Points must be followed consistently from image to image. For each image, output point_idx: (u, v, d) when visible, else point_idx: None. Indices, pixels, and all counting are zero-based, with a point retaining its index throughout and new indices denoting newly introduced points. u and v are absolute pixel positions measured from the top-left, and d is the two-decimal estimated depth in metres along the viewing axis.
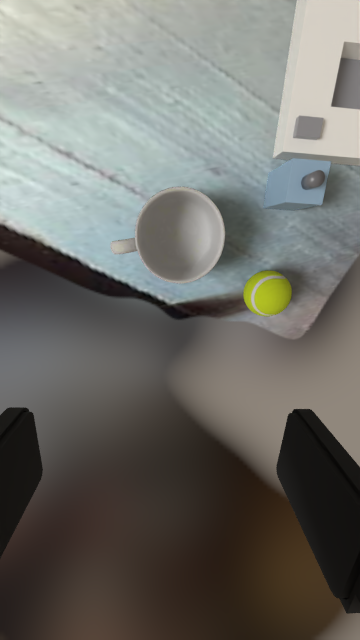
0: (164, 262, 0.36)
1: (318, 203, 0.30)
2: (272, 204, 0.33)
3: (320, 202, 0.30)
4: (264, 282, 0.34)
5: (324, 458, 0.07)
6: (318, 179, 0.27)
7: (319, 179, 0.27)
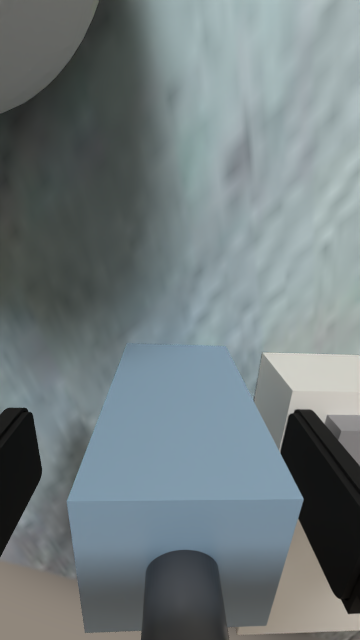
0: None
1: (88, 622, 0.06)
2: (116, 384, 0.08)
3: (94, 627, 0.06)
4: None
5: (325, 458, 0.07)
6: None
7: None
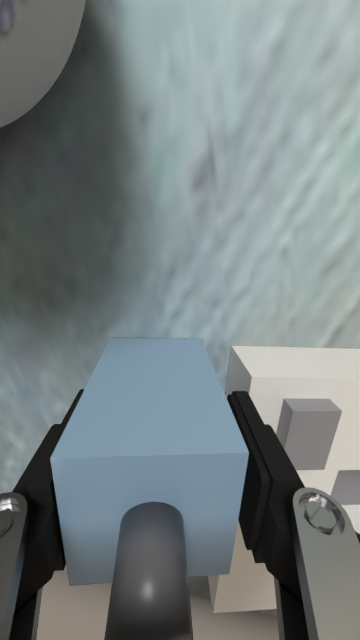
0: None
1: (72, 575, 0.07)
2: (98, 371, 0.09)
3: (77, 580, 0.07)
4: None
5: (243, 430, 0.08)
6: None
7: None
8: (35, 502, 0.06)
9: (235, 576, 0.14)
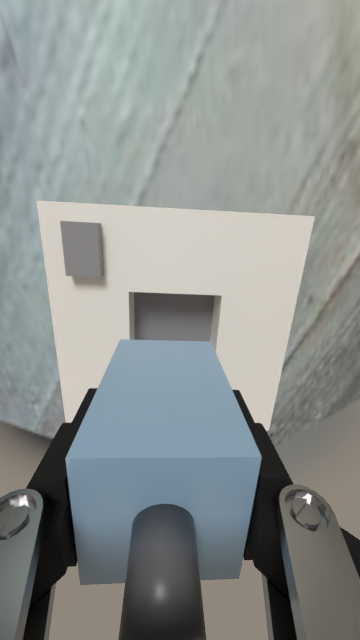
0: None
1: (83, 574, 0.07)
2: (109, 372, 0.09)
3: (88, 579, 0.07)
4: None
5: None
6: None
7: None
8: (49, 498, 0.06)
9: (74, 391, 0.18)
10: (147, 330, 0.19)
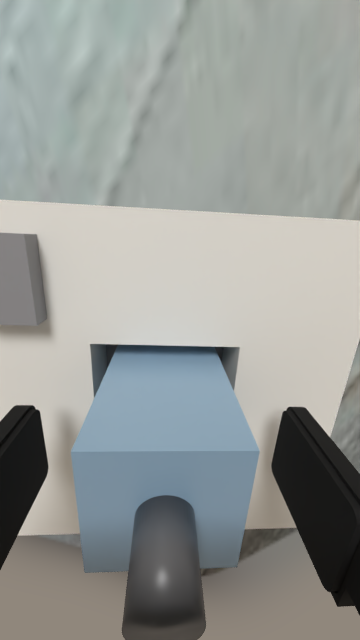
0: None
1: (87, 562, 0.07)
2: (111, 369, 0.09)
3: (92, 567, 0.07)
4: None
5: (316, 454, 0.07)
6: (159, 632, 0.05)
7: (159, 635, 0.05)
8: None
9: None
10: None
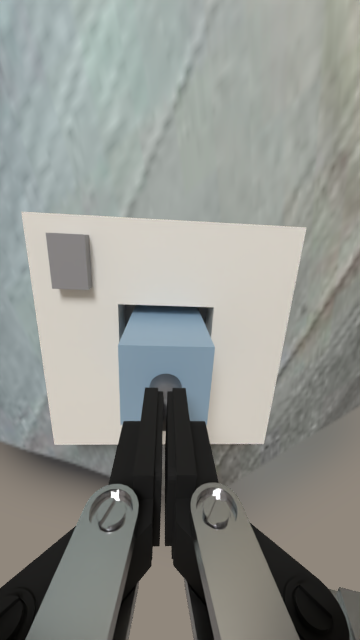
0: None
1: (122, 417, 0.13)
2: (132, 318, 0.15)
3: None
4: None
5: (168, 426, 0.08)
6: (163, 417, 0.10)
7: (163, 419, 0.10)
8: (137, 493, 0.06)
9: (62, 407, 0.18)
10: None
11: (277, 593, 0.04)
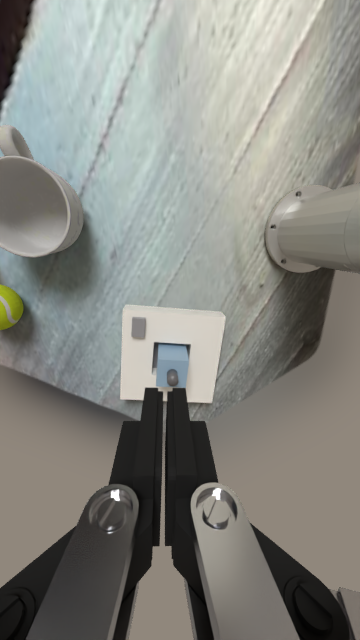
0: (17, 196, 0.33)
1: (156, 383, 0.37)
2: (159, 348, 0.39)
3: (157, 385, 0.37)
4: None
5: (168, 426, 0.08)
6: (172, 381, 0.35)
7: (172, 382, 0.35)
8: (137, 493, 0.06)
9: (126, 382, 0.42)
10: None
11: (277, 593, 0.04)
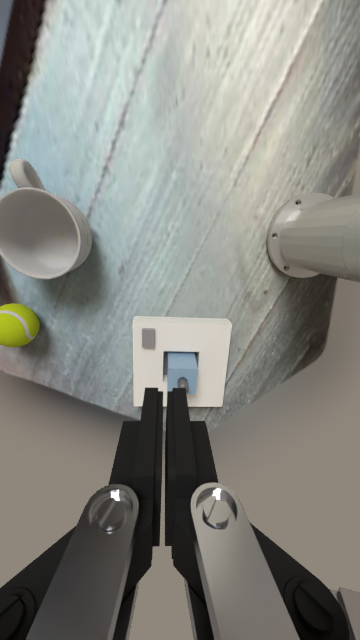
0: (29, 221, 0.35)
1: None
2: (169, 356, 0.41)
3: None
4: (17, 320, 0.36)
5: (168, 426, 0.08)
6: None
7: None
8: (137, 493, 0.06)
9: (139, 390, 0.43)
10: None
11: (277, 593, 0.04)
